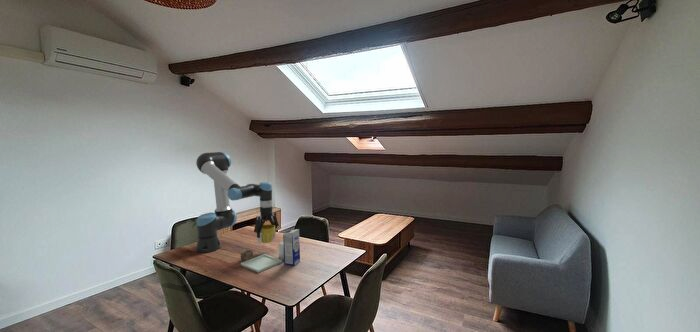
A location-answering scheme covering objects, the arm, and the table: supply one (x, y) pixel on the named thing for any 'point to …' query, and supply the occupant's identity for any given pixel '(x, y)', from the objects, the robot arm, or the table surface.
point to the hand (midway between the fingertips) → (266, 239)
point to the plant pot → (267, 233)
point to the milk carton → (291, 247)
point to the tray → (261, 263)
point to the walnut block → (246, 255)
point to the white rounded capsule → (281, 251)
